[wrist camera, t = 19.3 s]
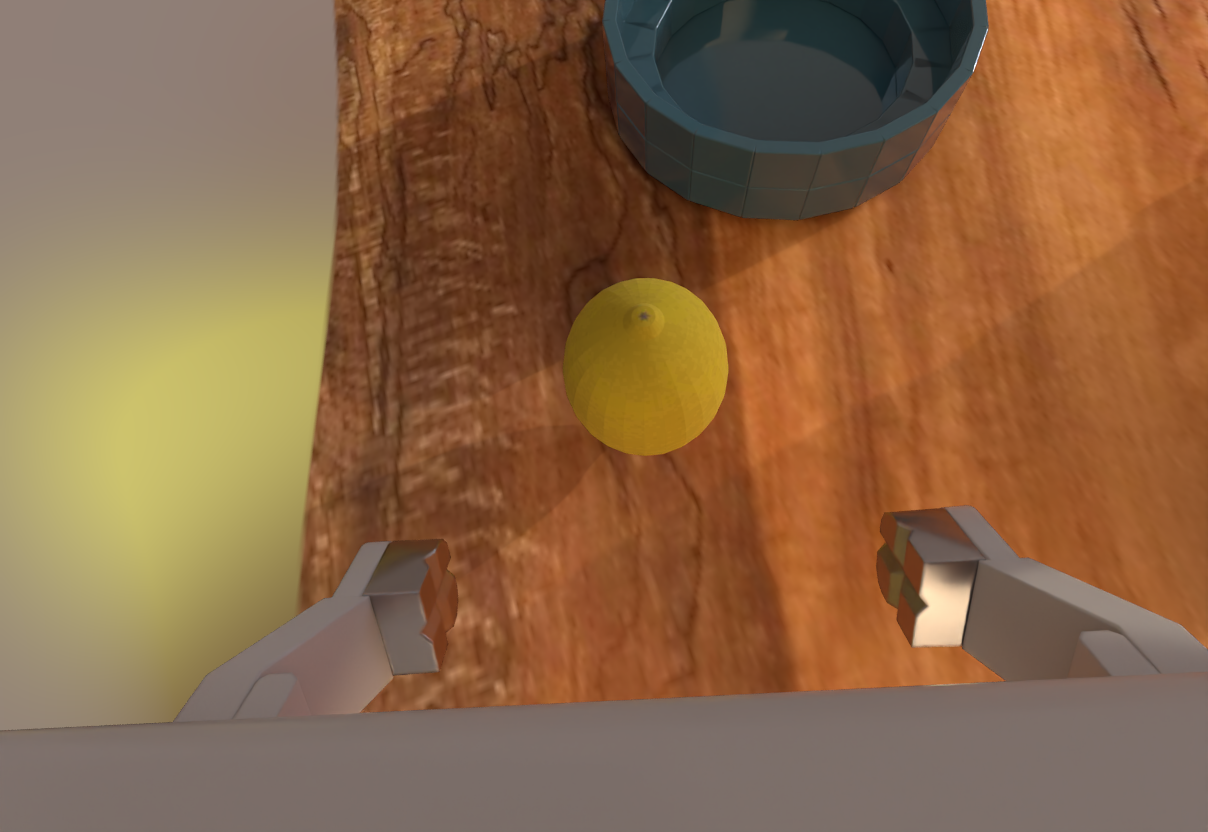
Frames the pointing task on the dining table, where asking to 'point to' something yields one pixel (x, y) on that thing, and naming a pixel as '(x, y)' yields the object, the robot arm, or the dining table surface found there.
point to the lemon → (645, 366)
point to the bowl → (786, 95)
